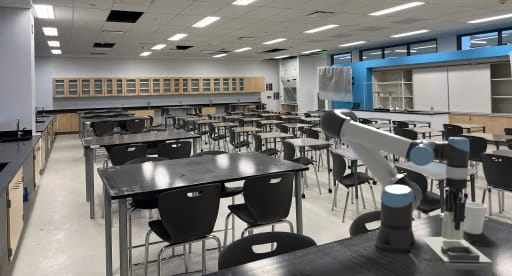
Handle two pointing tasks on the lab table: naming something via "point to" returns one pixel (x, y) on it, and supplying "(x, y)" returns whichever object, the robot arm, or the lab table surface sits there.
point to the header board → (456, 251)
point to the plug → (450, 226)
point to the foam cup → (474, 217)
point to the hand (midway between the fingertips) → (452, 235)
